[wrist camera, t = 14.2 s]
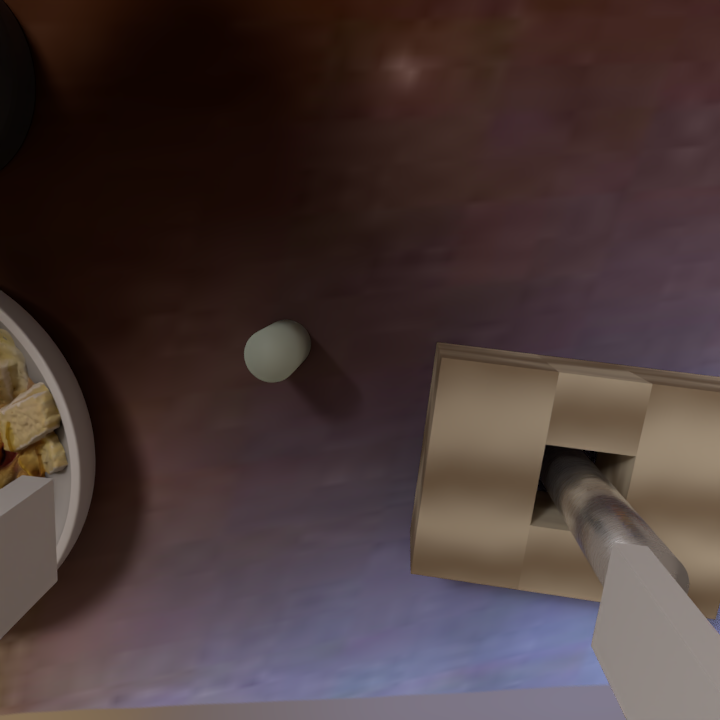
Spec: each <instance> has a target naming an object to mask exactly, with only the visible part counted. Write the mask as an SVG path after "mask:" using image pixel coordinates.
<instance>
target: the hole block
mask: <svg viewBox="0 0 720 720" xmlns="http://www.w3.org/2000/svg"><path fill="white" fill-rule="evenodd" d="M545 444H546V445H553V446H561V447H568V448H576V449H583V450H591V451H598V452H597V457H596V461H595V465H596V467H597V468H598V469H599V470H600V471H601V472H602V473H603V475H604V476H605V477H606V478H607V479H608V480H609V481H610V483H611V484H612V485H613V486H614V487H615V488H616V489H617V490H618V492H619V493H620V494H621V495H622V496H623V497H624V498H625V500H626V501H627V502H628V503H629V504H630V505H631V506H632V507H633V509H634V510H635V511H636V512H637V513H638V514H639V515H640V517H641V518H642V519H643V520H644V521H645V522H646V523H647V525H648V526H649V527H650V528H651V529H652V530H653V531H654V532H655V534H656V535H657V536H658V537H659V538H660V539H661V540H662V542H663V543H664V544H665V545H666V546H667V547H668V548H669V549H670V551H671V552H672V553H673V554H674V555H675V556H676V557H677V559H678V560H679V561H680V562H681V563H682V564H683V566H684V567H685V569H686V571H687V573H688V577H689V591H688V594H687V595H688V596H689V598H690V599H691V600H692V601H693V603H694V604H695V605H696V606H697V608H698V609H699V610H700V611H701V612H702V614H703V615H704V616H705V617H706V618H709V619H716V615H717V611H718V608H719V604H720V377H715V376H706V375H698V374H690V373H682V372H674V371H666V370H658V369H650V368H642V367H634V366H626V365H618V364H610V363H602V362H593V361H585V360H577V359H569V358H561V357H553V356H545V355H537V354H529V353H521V352H513V351H505V350H497V349H488V348H480V347H472V346H464V345H456V344H448V343H440V342H437V345H436V352H435V359H434V366H433V374H432V381H431V388H430V395H429V402H428V409H427V416H426V423H425V430H424V437H423V444H422V451H421V458H420V465H419V472H418V479H417V486H416V493H415V500H414V507H413V514H412V521H411V528H410V552H411V574H417V575H424V576H431V577H437V578H444V579H450V580H457V581H464V582H470V583H477V584H484V585H490V586H497V587H504V588H510V589H517V590H523V591H530V592H537V593H543V594H550V595H557V596H563V597H570V598H577V599H583V600H590V601H596V602H601V597H602V593H603V586H602V584H601V583H600V581H599V579H598V577H597V576H596V574H595V572H594V571H593V569H592V567H591V565H590V564H589V562H588V560H587V559H586V557H585V555H584V553H583V552H582V550H581V548H580V547H579V545H578V543H577V541H576V540H575V538H574V536H573V535H572V533H571V531H570V529H569V528H568V526H567V524H566V523H565V521H564V519H563V517H562V516H561V514H560V512H559V511H558V509H557V507H556V505H555V504H554V502H553V500H552V499H551V497H550V495H549V493H548V492H545V491H538V490H537V487H538V481H539V476H540V471H541V465H542V460H543V455H544V450H545Z"/></svg>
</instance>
